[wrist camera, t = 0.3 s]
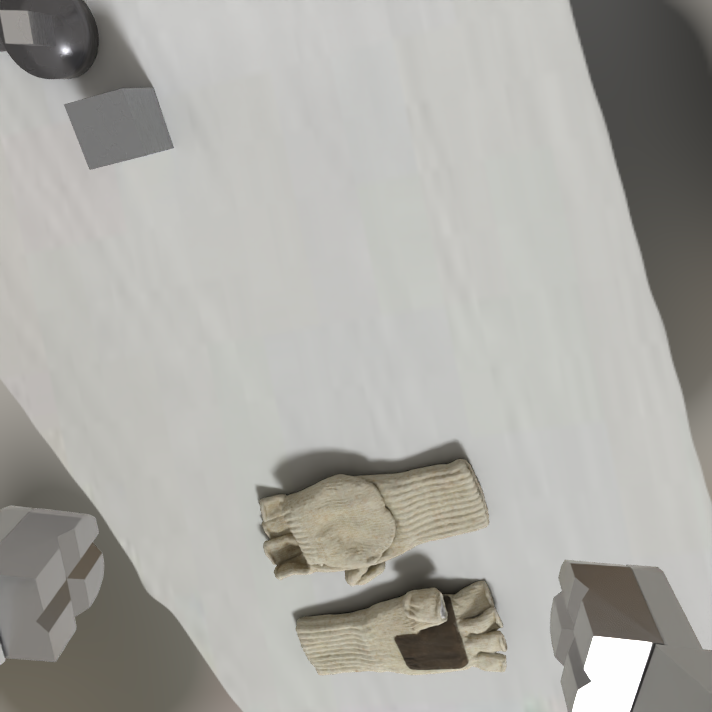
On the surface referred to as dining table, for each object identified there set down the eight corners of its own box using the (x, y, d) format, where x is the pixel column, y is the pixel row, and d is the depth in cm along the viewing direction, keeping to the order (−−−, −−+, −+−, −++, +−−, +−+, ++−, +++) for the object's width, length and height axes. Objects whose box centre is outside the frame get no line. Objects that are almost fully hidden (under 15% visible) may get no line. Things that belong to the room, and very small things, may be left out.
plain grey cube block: (100, 102, 52) (64, 104, 47) (153, 87, 52) (122, 88, 46) (122, 160, 54) (89, 169, 49) (173, 147, 53) (146, 155, 48)
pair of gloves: (510, 649, 75) (516, 688, 70) (312, 664, 80) (305, 701, 75) (477, 445, 64) (482, 474, 59) (247, 475, 68) (234, 504, 63)
